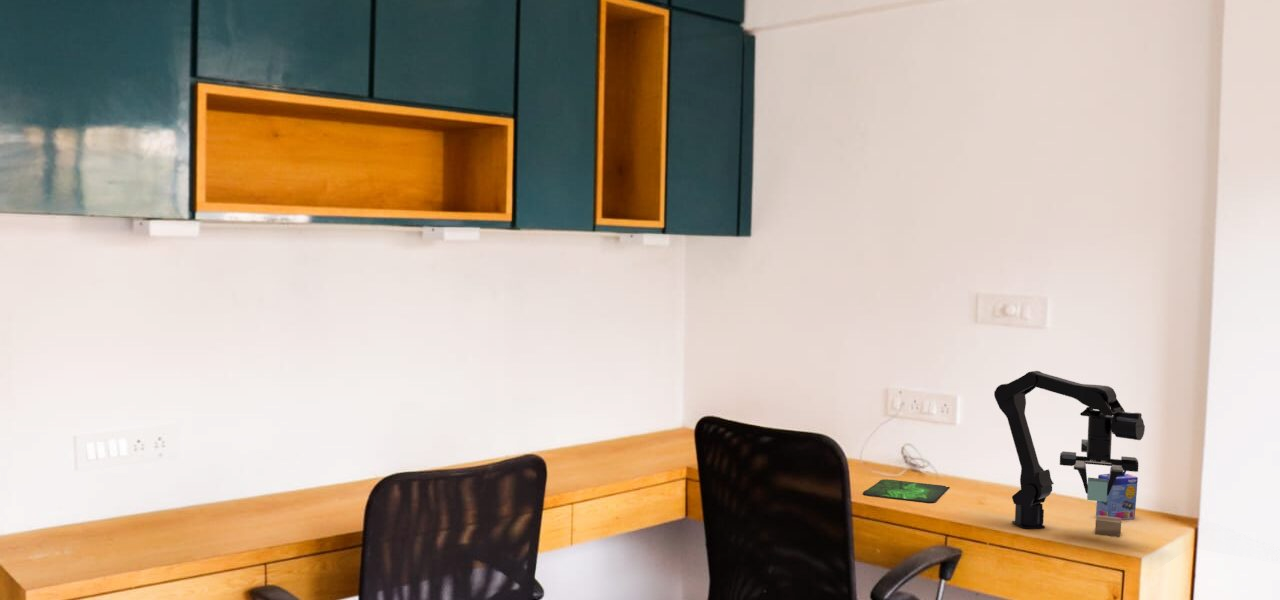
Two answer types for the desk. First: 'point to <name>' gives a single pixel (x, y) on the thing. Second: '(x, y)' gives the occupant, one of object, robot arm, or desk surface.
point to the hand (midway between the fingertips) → (1097, 494)
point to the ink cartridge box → (1119, 497)
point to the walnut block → (1108, 526)
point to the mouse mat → (906, 490)
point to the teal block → (1097, 489)
